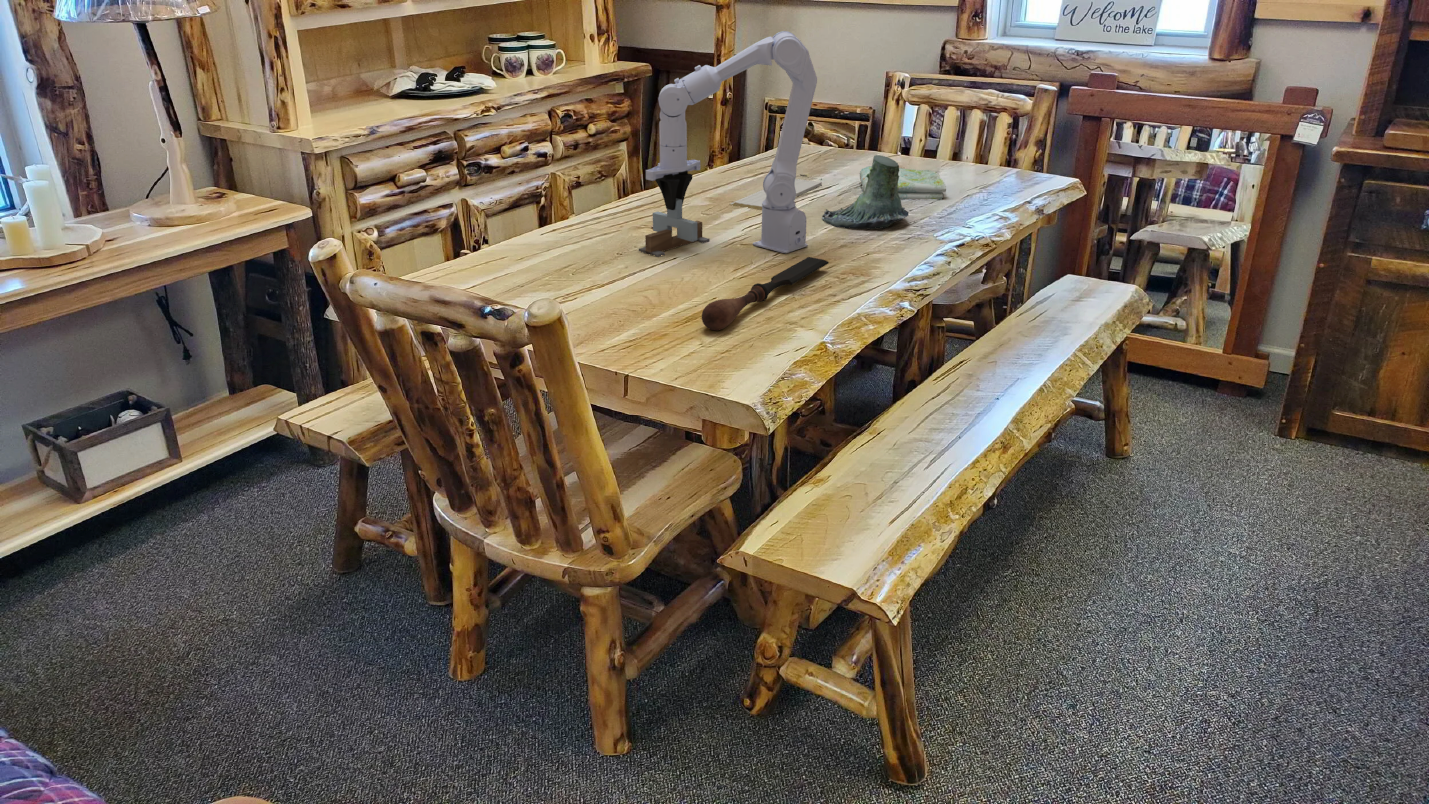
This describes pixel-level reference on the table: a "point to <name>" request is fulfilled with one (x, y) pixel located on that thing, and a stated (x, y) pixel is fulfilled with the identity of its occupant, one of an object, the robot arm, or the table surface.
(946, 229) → the table surface
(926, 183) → the towel
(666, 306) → the table surface
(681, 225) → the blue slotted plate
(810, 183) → the baseboard molding
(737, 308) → the chisel
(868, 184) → the tree stump
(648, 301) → the table surface
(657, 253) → the walnut slotted plate
